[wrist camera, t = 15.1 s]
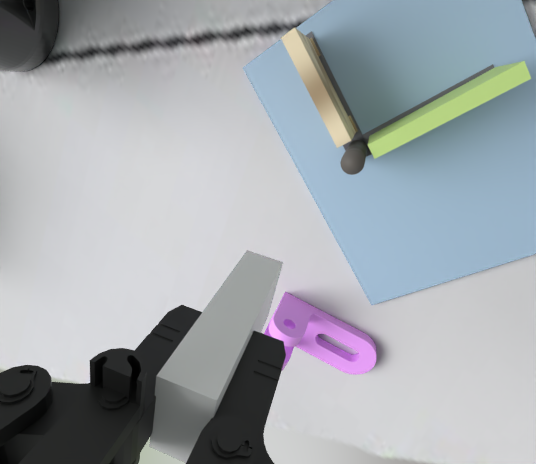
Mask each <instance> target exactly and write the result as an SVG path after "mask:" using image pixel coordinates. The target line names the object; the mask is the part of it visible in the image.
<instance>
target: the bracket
mask: <svg viewBox="0 0 536 464" xmlns="http://www.w3.org/2000/svg"><path fill="white" fill-rule="evenodd" d="M264 334H265V335H268V336H270V337H273V338H276V339H278V340H281V341H283V342H284V347H285V352H286V357H285V360H284V364H283V367H282V370H283V369H284V368H285V366H286V364H287V363H288V361H289V359H290V357H291V354H292V351H293V348H294V346H296V347H298V348H300V349H302V350H304V351H305V352H307V353H309V354H311V355H313V356H315V357H317V358H318V359H320V360H322V361H324V362H326V363H328V364H330V365H331V366H333V367H335V368H337V369H339V370H341V371H343V372H345V373H349V374H363V373H366V372H368V371H370V370H371V369H372V368H373V367H374V365H375V363H376V346H375V343H374V341H373V340H372V339H371V338H370V337H369V336H368V335H367V334H365V333H364V332H362V331H360V330H358V329H356V328H354V327H352V326H350V325H348V324H346V323H344V322H342V321H341V320H339V319H337V318H335V317H333V316H331V315H329V314H327V313H325V312H323V311H321V310H319V309H317V308H316V307H314V306H312V305H310V304H308V303H306V302H304V301H302V300H300V299H298V298H296V297H294V296H293V295H291V294H289V293H287V292H285V293H284V295H283V297H282V299H281V301H280V303H279V305H278V307H277V309H276V311H275V313H274V315H273V317H272V319H271V320H270V322H269V324H268V326H267V329H266V331H265V333H264ZM318 334H326V335H328V336H329V337H331V338H333V339H335V340H337V341H339V342H341V343H343V344H345V345H346V346H348V347H350V348H352V349H354V350H356V351H357V352H358V354H355V355H352V354H349V353H347V352H345V351H343V350H341V349H339V348H338V347H336V346H334V345H332V344H330V343H328V342H326V341H324V340H322V339H321V338H319V337H318ZM282 370H281V371H282Z"/></svg>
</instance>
